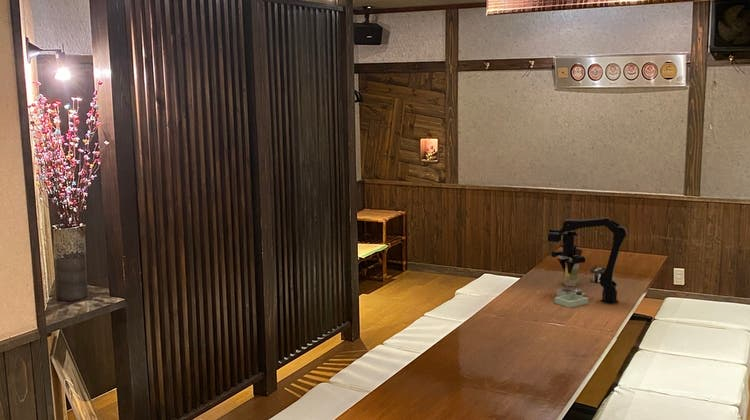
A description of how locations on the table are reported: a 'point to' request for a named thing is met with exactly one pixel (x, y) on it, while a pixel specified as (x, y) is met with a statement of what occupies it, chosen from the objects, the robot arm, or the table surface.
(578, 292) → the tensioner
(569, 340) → the table surface
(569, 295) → the tray
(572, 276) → the coffee cup
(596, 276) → the architectural model
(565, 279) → the lock pin
